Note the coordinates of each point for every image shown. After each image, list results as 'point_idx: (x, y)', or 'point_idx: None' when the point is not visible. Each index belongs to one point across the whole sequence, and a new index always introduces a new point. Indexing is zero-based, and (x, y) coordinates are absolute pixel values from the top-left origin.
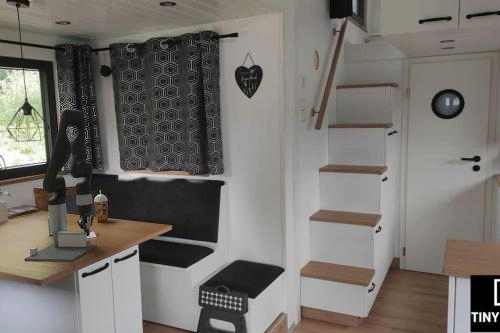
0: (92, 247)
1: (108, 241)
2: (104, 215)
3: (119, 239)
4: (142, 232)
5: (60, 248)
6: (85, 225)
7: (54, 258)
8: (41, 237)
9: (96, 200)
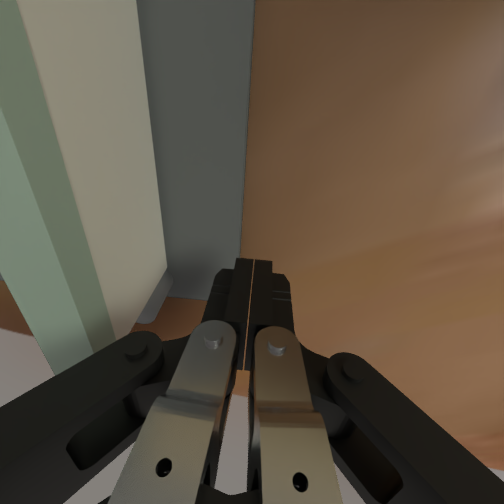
0: (170, 294)
1: (349, 325)
2: None
3: (381, 366)
4: (498, 427)
5: None
6: (117, 455)
7: None
8: None
9: None
